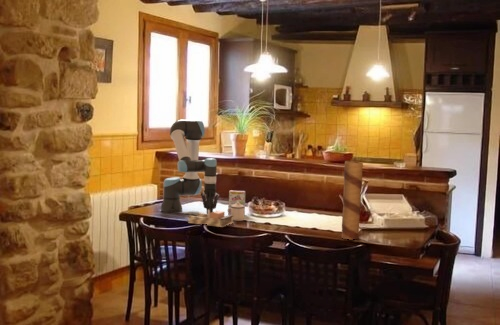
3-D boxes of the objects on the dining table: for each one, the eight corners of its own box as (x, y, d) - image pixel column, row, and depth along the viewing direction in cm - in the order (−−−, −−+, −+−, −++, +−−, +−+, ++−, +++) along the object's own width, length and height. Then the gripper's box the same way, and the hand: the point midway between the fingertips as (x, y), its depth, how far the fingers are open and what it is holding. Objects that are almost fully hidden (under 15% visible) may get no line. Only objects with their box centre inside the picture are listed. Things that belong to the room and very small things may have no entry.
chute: (188, 222, 366) (188, 214, 365) (199, 219, 378) (199, 211, 378) (222, 227, 355) (222, 218, 354) (233, 223, 367) (233, 215, 367)
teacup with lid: (246, 219, 382) (247, 201, 381) (240, 221, 374) (240, 203, 373) (231, 217, 388) (231, 200, 387) (224, 219, 380) (224, 201, 379)
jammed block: (209, 222, 362) (210, 212, 362) (216, 220, 369) (216, 210, 369) (218, 223, 359) (218, 213, 359) (224, 221, 367) (224, 211, 366)
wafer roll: (351, 235, 340) (354, 160, 336) (362, 239, 331) (366, 162, 327) (337, 237, 335) (340, 160, 331) (348, 241, 326) (351, 162, 322)
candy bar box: (228, 214, 396) (228, 191, 394) (228, 213, 401) (229, 190, 399) (244, 215, 395) (244, 191, 393) (244, 214, 400) (245, 190, 398)
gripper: (198, 182, 364) (197, 219, 366) (216, 184, 358) (215, 221, 360) (204, 181, 370) (203, 217, 373) (222, 182, 365) (221, 219, 367)
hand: (209, 219), depth 366 cm, fingers closed
